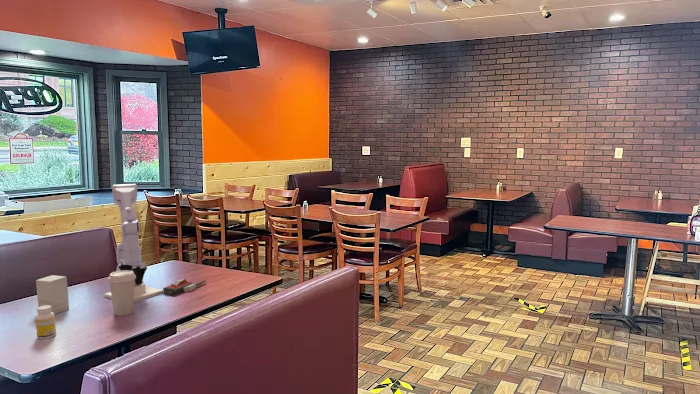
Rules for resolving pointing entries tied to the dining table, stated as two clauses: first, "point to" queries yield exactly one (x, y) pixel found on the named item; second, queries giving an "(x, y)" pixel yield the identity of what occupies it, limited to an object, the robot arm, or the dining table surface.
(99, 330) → the dining table surface
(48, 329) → the supplement bottle
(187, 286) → the walkie-talkie
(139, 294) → the jack stand base
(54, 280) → the supplement box
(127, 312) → the coffee cup
